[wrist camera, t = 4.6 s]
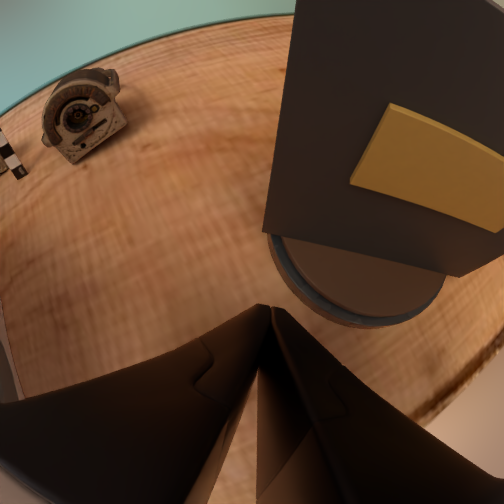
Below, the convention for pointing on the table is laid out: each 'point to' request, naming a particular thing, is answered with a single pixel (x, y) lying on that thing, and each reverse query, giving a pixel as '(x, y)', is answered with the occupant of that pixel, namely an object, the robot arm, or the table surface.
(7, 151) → the cuneiform tablet
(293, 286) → the turntable base
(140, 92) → the table surface
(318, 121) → the dark upright block
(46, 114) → the mechanical counter
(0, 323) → the alarm clock
